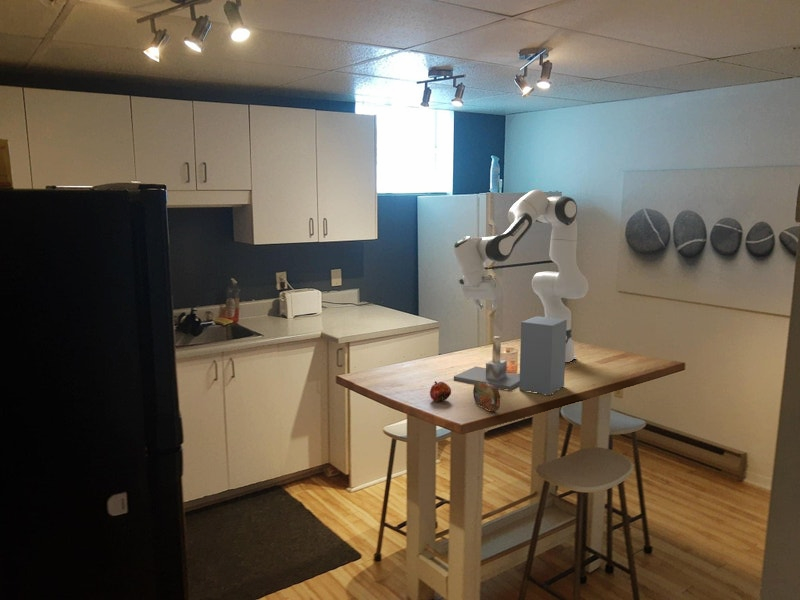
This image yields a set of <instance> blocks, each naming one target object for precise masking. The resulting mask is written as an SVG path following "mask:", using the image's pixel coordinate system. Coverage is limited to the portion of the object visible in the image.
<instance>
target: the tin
mask: <svg viewBox="0 0 800 600" xmlns="http://www.w3.org/2000/svg"><path fill="white" fill-rule="evenodd" d="M472 392H473V400H474V402H475V404H476V405H477V404H478V405H477V406H479V405H480V406H482V407H484V408H486V409H488V410H490V411H491V412H497V411H498V410H499V409H500V406H501V393H500V391H499V388H496V387H494V386H492V385H490V384H488V383H487V382H479V381H478V382H476V383H475V384H474V385H473V391H472ZM480 406H479V407H480ZM482 407H481V408H482Z"/></svg>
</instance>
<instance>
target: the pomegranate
mask: <svg viewBox="0 0 800 600" xmlns="http://www.w3.org/2000/svg"><path fill="white" fill-rule="evenodd" d="M433 383H434V384H433V385H432V386H431V388H430V391H429V397H430V398H431V400H432V401H433V402H436V403H437V402H441V401H442V402H443V404H444V405H446V404H445V401H446V400H447V399H448V398H449V397H450V396H451V394H452V388H451V387H450V385H448V384H447V383H445V382H443V381H439V382H437V381H436V380H435V381H434V382H433Z"/></svg>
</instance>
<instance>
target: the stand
mask: <svg viewBox="0 0 800 600" xmlns="http://www.w3.org/2000/svg"><path fill="white" fill-rule="evenodd" d="M566 327H567V319H558V318H549V317H545V316H538V315H537V316H534V317H531V318H528V319H526V320H522V321H521V322H520V347H519V348H520V352H519V353H520V354H519V374H520V381H519V385H518V390H524V391H523V392H525V391H531V392H537V393H541V394H546V395H551V394H552V393H554V392H555V391H557V390H558V389H560V388H561V387H563V386H564V387H565V371H566V363H565V351H566ZM564 387H563V388H564ZM561 389H562V388H561ZM561 389H560V390H561ZM558 391H559V390H558ZM558 391H557V392H558ZM541 394H540V395H541ZM554 394H555V393H554ZM546 395H545V396H546ZM551 396H552V395H551Z"/></svg>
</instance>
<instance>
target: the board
mask: <svg viewBox="0 0 800 600" xmlns="http://www.w3.org/2000/svg"><path fill="white" fill-rule="evenodd" d="M453 380H454V381H457V382H463V383H468V384H474V385H475V383H476V382H478V381H479V382H487V383H488V384H490V385H492V386H494V387H496V388H497V389H499V388H500V389H501V390H504V389H508V390H507V391H511V390H513V389H514V388H513V387H515V386H516V387H518V386H519V381H520V373H517V372H512V373H506V376H505V377H503V378H501V379H499V380H493V379H487V378H486V367H481V366H473V367H471V368H469V369H467V370H465V371H463V372H459V374H456V375H453ZM517 385H518V386H517ZM516 387H515V388H516ZM512 388H513V389H512ZM510 389H511V390H510Z"/></svg>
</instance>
